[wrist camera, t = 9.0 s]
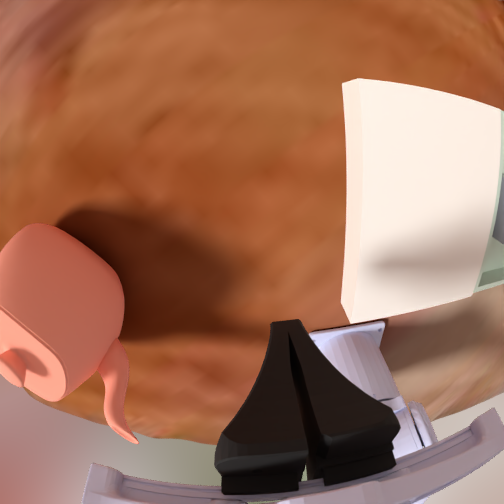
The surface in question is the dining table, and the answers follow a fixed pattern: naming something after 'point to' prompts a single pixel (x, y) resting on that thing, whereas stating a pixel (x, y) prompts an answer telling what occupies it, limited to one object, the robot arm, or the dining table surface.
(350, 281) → the board
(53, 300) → the teapot
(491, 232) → the box
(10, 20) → the dining table surface
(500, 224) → the tile
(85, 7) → the dining table surface
